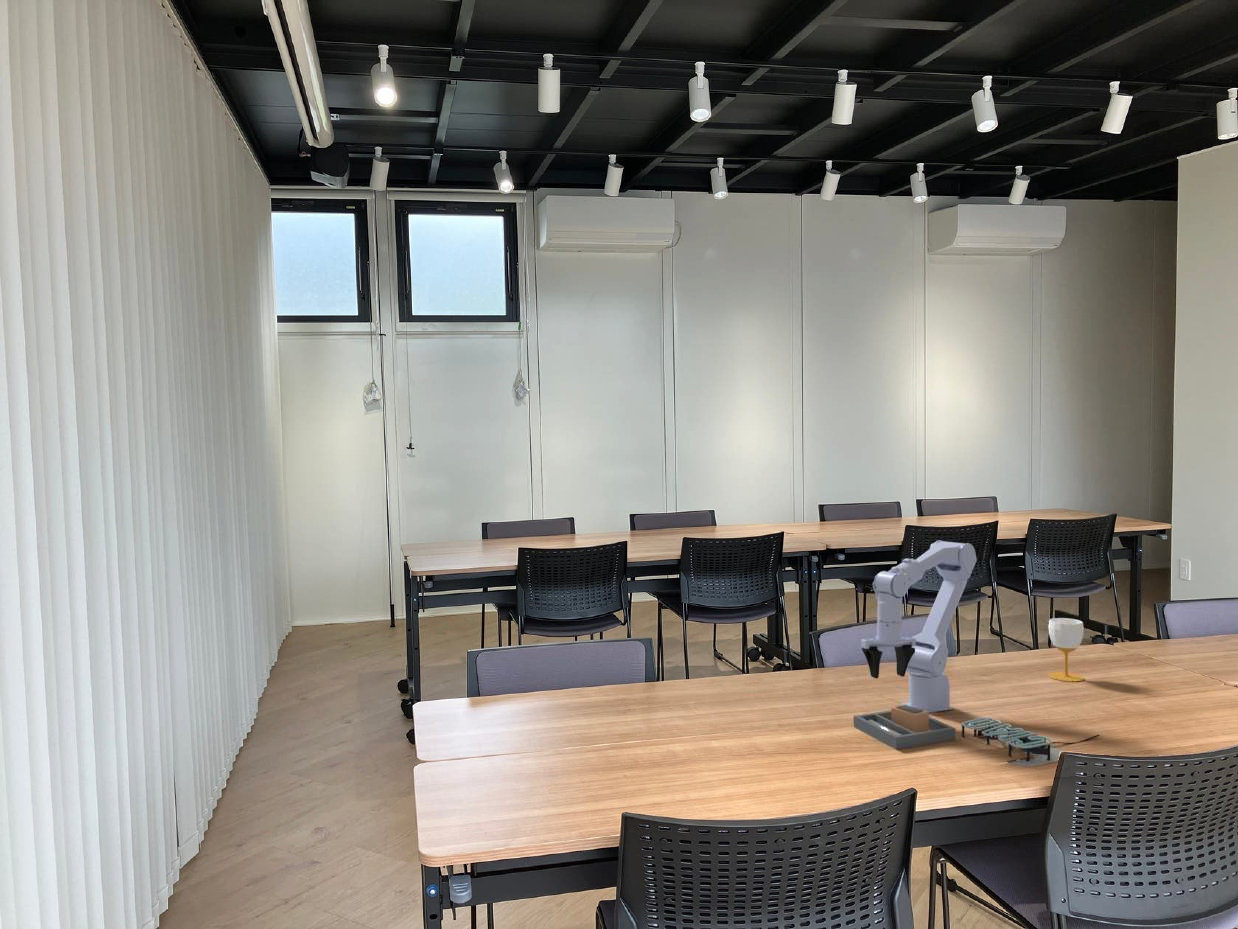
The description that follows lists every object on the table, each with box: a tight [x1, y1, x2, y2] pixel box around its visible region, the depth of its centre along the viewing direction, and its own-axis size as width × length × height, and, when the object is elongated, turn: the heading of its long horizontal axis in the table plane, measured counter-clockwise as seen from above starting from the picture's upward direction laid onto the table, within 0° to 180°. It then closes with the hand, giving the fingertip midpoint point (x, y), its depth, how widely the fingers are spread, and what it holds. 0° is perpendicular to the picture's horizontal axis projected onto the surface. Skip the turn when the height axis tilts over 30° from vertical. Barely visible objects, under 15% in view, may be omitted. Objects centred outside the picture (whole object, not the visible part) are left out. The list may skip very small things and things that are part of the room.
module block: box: [890, 704, 930, 733], centre depth 198 cm, size 4×7×5 cm, turn 32°
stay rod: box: [868, 719, 901, 736], centre depth 196 cm, size 12×2×2 cm, turn 19°
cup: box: [1047, 617, 1085, 683], centre depth 240 cm, size 9×9×16 cm
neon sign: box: [961, 717, 1100, 767], centre depth 191 cm, size 21×4×29 cm
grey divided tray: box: [853, 709, 957, 750], centre depth 197 cm, size 16×16×3 cm
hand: (887, 676), depth 208 cm, fingers open, 7 cm apart
